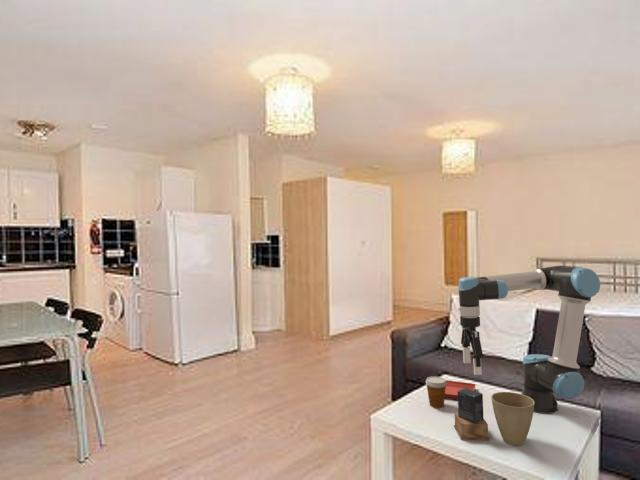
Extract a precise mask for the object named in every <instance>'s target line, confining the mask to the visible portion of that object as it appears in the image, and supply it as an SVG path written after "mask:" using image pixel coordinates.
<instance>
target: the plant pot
mask: <svg viewBox="0 0 640 480" xmlns="http://www.w3.org/2000/svg"><path fill="white" fill-rule="evenodd" d="M491 403H492V410H493V413H494V417H495V420H496V424H497V428H498V429H499V433H500V436H501V438H502V441H503V442H504V443H506V444H508V445H512V446H523V445H524V444H525V442H526V439H528V435H529V432H530V429H531V425H532V421H533V418H534V417H533V416H534V412H533V411H534V404H535V402H534V400H533V399H531V398H530V397H528V396H525V395H522V393H517V392H511V391H499V392H495V393H493V394H491Z"/></svg>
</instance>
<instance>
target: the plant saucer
mask: <svg viewBox="0 0 640 480" xmlns="http://www.w3.org/2000/svg"><path fill="white" fill-rule="evenodd" d="M445 380H446V379H445ZM446 382H447V384H446V389H445V399H451V400H457V401H458V391H459V390H462V389H465V388H468V389H471V390H474V391H476V386H477V384H476V383H471V382H462V381H454V380H448V379H447V380H446Z"/></svg>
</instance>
